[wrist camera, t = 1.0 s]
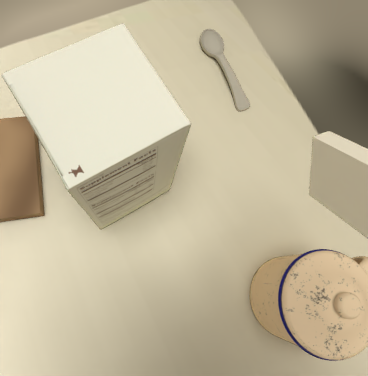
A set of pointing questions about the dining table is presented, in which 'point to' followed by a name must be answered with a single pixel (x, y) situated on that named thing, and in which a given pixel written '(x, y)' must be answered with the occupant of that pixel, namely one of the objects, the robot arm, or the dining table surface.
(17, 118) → the walnut board
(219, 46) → the spoon
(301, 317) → the teacup with lid
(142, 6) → the dining table surface
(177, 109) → the supplement box
